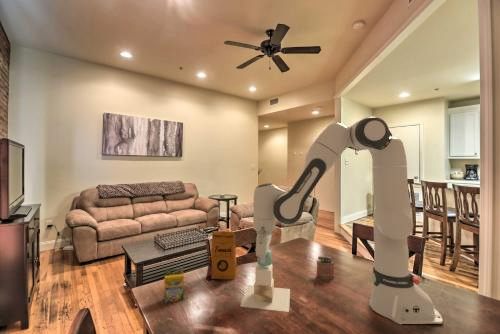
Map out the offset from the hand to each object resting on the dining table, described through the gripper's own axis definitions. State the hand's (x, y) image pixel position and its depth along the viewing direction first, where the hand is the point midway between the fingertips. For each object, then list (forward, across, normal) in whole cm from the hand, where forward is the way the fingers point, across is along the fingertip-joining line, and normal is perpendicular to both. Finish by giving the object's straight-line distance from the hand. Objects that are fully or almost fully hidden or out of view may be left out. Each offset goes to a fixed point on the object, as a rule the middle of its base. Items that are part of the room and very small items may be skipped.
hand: (264, 259), depth 96 cm
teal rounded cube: (+2, 0, 0) cm, 2 cm away
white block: (+9, 0, 0) cm, 9 cm away
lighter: (+16, +24, -26) cm, 39 cm away
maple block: (+15, 0, 0) cm, 15 cm away
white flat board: (+16, 0, -1) cm, 16 cm away
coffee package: (+16, +15, +21) cm, 30 cm away
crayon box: (+16, -7, +35) cm, 39 cm away
